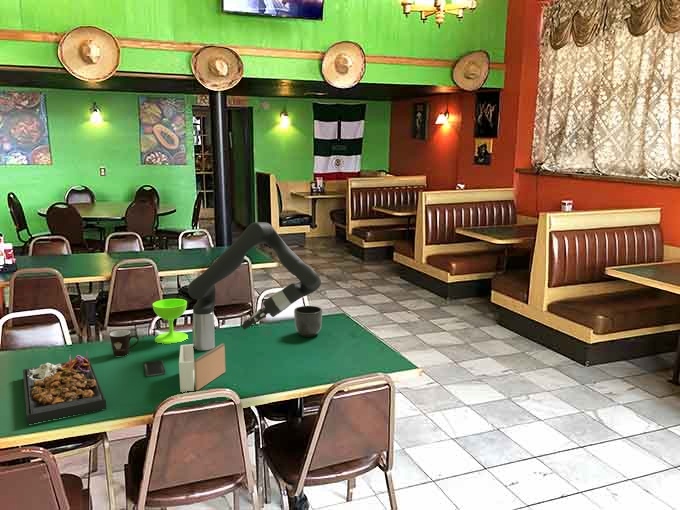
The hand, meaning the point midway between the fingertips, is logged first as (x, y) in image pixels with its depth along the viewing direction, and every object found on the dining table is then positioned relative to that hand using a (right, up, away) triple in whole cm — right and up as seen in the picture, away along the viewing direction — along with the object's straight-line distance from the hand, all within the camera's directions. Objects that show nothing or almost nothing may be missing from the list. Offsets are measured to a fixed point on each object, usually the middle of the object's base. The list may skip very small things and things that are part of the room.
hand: (243, 326), depth 224 cm
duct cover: (-13, -22, -1) cm, 25 cm away
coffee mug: (-58, -17, +26) cm, 66 cm away
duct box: (-22, -22, -2) cm, 31 cm away
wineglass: (-43, -12, +48) cm, 66 cm away
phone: (-39, -20, +11) cm, 46 cm away
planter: (+23, -11, +55) cm, 61 cm away
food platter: (-67, -25, -12) cm, 72 cm away
